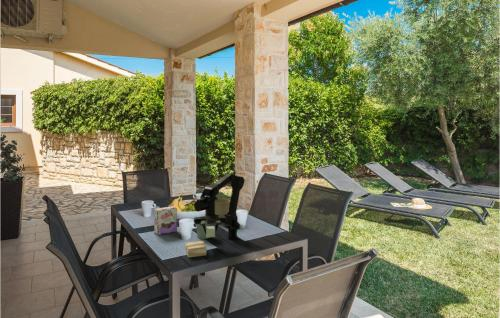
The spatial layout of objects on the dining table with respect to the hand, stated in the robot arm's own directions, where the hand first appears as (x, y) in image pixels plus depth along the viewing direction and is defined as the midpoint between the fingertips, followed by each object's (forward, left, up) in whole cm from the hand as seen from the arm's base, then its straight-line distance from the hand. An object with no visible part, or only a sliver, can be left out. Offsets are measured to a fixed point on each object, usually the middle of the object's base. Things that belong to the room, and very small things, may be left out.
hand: (210, 234), depth 202 cm
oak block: (+9, -9, -8) cm, 15 cm away
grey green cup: (-18, -3, -8) cm, 20 cm away
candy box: (-31, -27, -8) cm, 42 cm away
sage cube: (0, 0, -1) cm, 1 cm away
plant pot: (-49, +11, -8) cm, 51 cm away
